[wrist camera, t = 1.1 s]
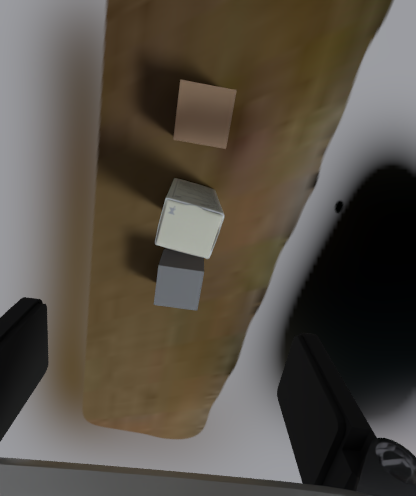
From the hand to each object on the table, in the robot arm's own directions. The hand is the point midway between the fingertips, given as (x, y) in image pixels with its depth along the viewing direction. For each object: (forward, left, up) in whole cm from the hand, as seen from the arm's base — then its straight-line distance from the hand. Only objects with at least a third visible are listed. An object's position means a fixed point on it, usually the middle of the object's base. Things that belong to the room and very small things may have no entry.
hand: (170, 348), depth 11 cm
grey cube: (+9, 0, -25) cm, 27 cm away
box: (0, 0, -26) cm, 26 cm away
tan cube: (-9, 0, -25) cm, 27 cm away
